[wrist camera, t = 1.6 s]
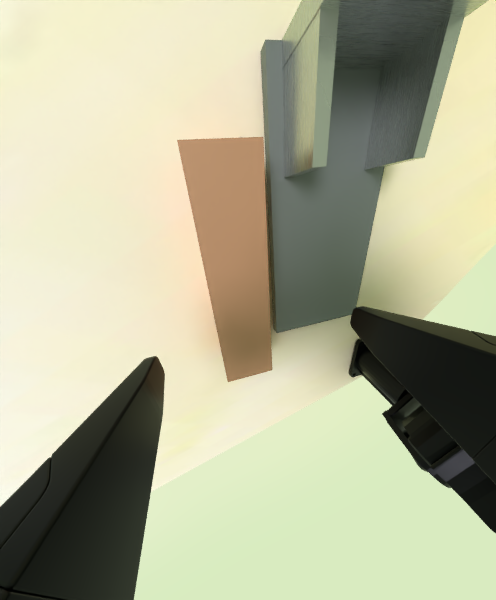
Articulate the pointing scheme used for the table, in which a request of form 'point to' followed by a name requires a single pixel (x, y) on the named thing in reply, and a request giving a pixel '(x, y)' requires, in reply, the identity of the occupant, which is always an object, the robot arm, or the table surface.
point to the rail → (233, 245)
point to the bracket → (368, 55)
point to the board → (319, 201)
